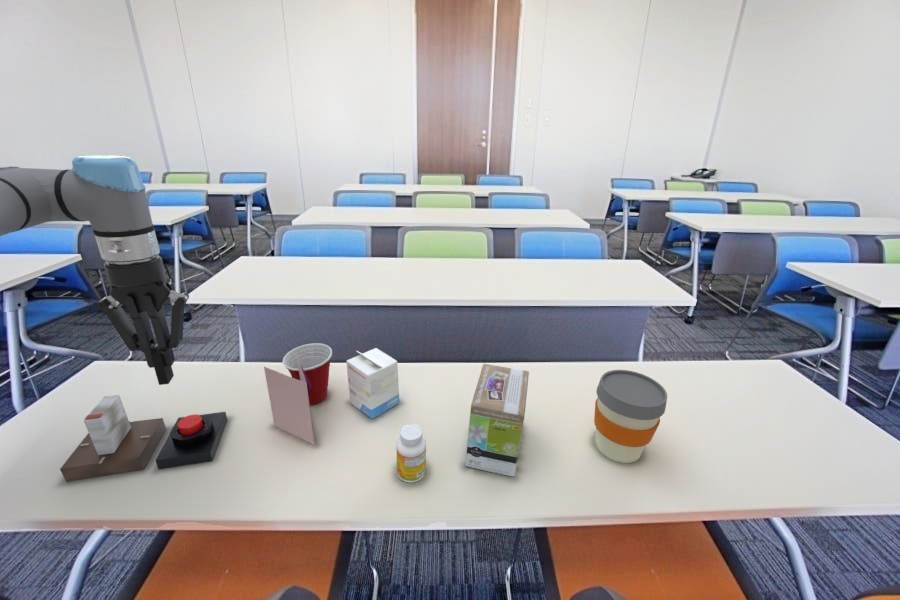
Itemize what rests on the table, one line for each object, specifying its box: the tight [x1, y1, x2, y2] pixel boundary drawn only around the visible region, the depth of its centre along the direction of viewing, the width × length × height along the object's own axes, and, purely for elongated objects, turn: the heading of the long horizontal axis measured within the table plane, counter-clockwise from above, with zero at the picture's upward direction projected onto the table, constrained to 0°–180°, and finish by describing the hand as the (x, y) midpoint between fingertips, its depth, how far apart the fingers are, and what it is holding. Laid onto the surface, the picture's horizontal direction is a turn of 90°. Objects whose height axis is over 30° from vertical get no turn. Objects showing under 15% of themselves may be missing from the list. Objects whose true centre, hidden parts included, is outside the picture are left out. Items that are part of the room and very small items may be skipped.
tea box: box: [464, 363, 530, 478], centre depth 79 cm, size 15×10×15 cm, turn 167°
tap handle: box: [83, 394, 131, 455], centre depth 74 cm, size 7×2×8 cm, turn 15°
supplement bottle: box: [395, 423, 427, 483], centre depth 73 cm, size 5×5×10 cm
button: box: [178, 414, 203, 435], centre depth 78 cm, size 4×4×2 cm
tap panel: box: [59, 417, 167, 482], centre depth 76 cm, size 12×11×3 cm
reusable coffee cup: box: [593, 369, 668, 464], centre depth 80 cm, size 13×13×15 cm
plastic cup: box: [282, 342, 333, 406], centre depth 92 cm, size 11×11×12 cm
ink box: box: [346, 347, 400, 420], centre depth 90 cm, size 9×8×13 cm
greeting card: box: [263, 356, 315, 446], centre depth 81 cm, size 11×7×15 cm, turn 28°
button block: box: [155, 411, 228, 470], centre depth 79 cm, size 9×12×4 cm
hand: (166, 380), depth 73 cm, fingers closed
